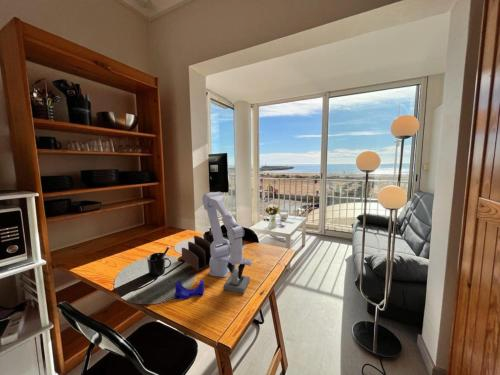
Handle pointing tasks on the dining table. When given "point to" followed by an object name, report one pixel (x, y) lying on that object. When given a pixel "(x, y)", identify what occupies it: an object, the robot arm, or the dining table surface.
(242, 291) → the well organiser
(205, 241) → the letter holder
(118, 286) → the dining table surface
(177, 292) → the blue concave cradle block
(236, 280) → the long block
